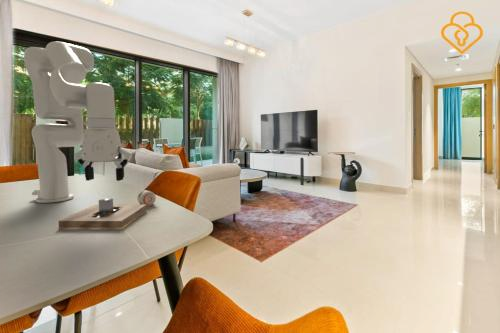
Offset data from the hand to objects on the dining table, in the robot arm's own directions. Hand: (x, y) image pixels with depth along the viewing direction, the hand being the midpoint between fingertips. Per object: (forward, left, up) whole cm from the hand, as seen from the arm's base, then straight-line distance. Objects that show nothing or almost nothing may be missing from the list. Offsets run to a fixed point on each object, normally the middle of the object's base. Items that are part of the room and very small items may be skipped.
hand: (105, 179), depth 81 cm
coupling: (0, 0, -12) cm, 12 cm away
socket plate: (0, 0, -13) cm, 13 cm away
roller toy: (+6, +17, -13) cm, 22 cm away
